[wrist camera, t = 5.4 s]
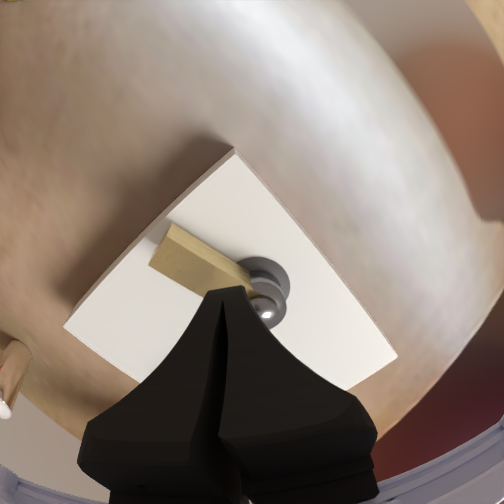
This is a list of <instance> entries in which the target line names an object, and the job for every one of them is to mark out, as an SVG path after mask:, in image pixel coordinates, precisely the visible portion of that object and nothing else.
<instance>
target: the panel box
mask: <svg viewBox="0 0 504 504" xmlns="http://www.w3.org/2000/svg"><path fill="white" fill-rule="evenodd" d="M172 223H174V224H175V225H177V226H178V227H180V228H181V229H183V230H185V231H186V232H188V233H189V234H191V235H192V236H194V237H196V238H197V239H199V240H200V241H202V242H204V243H205V244H207V245H208V246H210V247H211V248H213V249H215V250H216V251H218V252H219V253H221V254H223V255H224V256H226V257H227V258H229V259H231V260H232V261H234V262H235V263H237V264H239V265H240V266H242V267H243V268H245V269H247V270H248V271H254V270H261V271H266V272H269V273H271V274H272V275H274V276H275V277H276V278H277V279H278V280H279V282H280V284H281V287H282V291H283V294H284V297H285V301H286V305H287V311H286V315H285V317H284V318H283V320H282V321H281V322H280V323H279V324H278V325H277V326H275V327H274V328H272V329H270V331H271V333H272V334H273V335H274V336H275V337H276V338H277V339H278V340H279V342H280V343H281V344H282V345H283V346H284V347H285V348H286V349H287V350H289V351H290V352H291V353H292V354H293V355H294V356H295V357H296V358H297V359H299V360H300V361H301V362H302V363H304V364H305V365H306V366H308V367H309V368H310V369H312V370H313V371H314V372H315V373H317V374H318V375H320V376H321V377H323V378H324V379H326V380H328V381H329V382H331V383H332V384H334V385H336V386H337V387H339V388H341V389H343V390H345V391H346V390H348V389H349V388H351V387H353V386H354V385H356V384H358V383H359V382H361V381H362V380H364V379H366V378H367V377H369V376H370V375H372V374H373V373H375V372H377V371H378V370H380V369H381V368H383V367H384V366H386V365H387V364H389V363H390V362H391V361H393V360H394V359H396V358H397V357H398V356H397V354H396V352H395V350H394V349H393V347H392V345H391V344H390V342H389V340H388V339H387V337H386V335H385V334H384V333H383V331H382V330H381V328H380V327H379V326H378V324H377V323H376V321H375V320H374V319H373V317H372V316H371V315H370V313H369V312H368V311H367V309H366V308H365V306H364V305H363V304H362V302H361V301H360V300H359V298H358V297H357V296H356V294H355V293H354V292H353V290H352V289H351V288H350V286H349V285H348V284H347V283H346V281H345V280H344V279H343V277H342V276H341V275H340V273H339V272H338V271H337V270H336V268H335V267H334V266H333V264H332V263H331V262H330V261H329V259H328V258H327V257H326V255H325V254H324V253H323V252H322V250H321V249H320V248H319V247H318V245H317V244H316V243H315V242H314V240H313V239H312V238H311V237H310V235H309V234H308V233H307V232H306V231H305V229H304V228H303V227H302V226H301V224H300V223H299V222H298V221H297V220H296V218H295V217H294V216H293V215H292V214H291V212H290V211H289V210H288V209H287V208H286V206H285V205H284V204H283V203H282V202H281V200H280V199H279V198H278V197H277V196H276V194H275V193H274V192H273V191H272V190H271V189H270V187H269V186H268V185H267V184H266V183H265V182H264V180H263V179H262V178H261V177H260V176H259V175H258V174H257V172H256V171H255V170H254V169H253V168H252V167H251V166H250V164H249V163H248V162H247V161H246V160H245V159H244V158H243V156H242V155H241V154H240V153H239V152H238V151H237V150H236V149H235V148H232V149H231V150H230V151H229V152H228V153H227V154H225V155H224V156H223V157H222V158H221V159H220V160H218V161H217V162H216V163H215V164H214V165H213V166H212V167H210V168H209V169H208V170H207V171H206V172H205V173H204V174H203V175H201V176H200V177H199V178H198V179H197V180H196V181H195V182H194V183H193V184H191V185H190V186H189V187H188V188H187V189H186V190H185V191H184V192H183V193H182V194H181V195H180V196H179V197H177V198H176V199H175V200H174V201H173V202H172V203H171V204H170V205H169V206H168V207H167V208H166V209H165V210H164V211H163V212H162V213H161V214H160V215H159V216H158V217H157V218H156V219H155V220H154V221H153V222H152V223H151V224H150V225H149V226H148V227H147V228H146V229H145V230H144V231H143V232H142V233H141V234H140V235H139V236H138V237H137V238H136V239H135V240H134V241H133V242H132V243H131V244H130V245H129V246H128V247H127V248H126V249H125V250H124V251H123V252H122V253H121V254H120V256H119V257H118V258H117V259H116V260H115V261H114V262H113V263H112V264H111V265H110V266H109V267H108V269H107V270H106V271H105V272H104V273H103V274H102V275H101V276H100V277H99V279H98V280H97V281H96V282H95V283H94V284H93V285H92V286H91V288H90V289H89V290H88V291H87V292H86V293H85V294H84V296H83V297H82V298H81V299H80V300H79V301H78V303H77V304H76V305H75V307H74V309H73V310H72V312H71V314H70V315H69V317H68V319H67V320H66V322H65V324H64V325H63V327H64V328H65V329H67V330H68V331H69V332H70V333H71V334H73V335H74V336H75V337H76V338H78V339H79V340H80V341H81V342H83V343H84V344H85V345H87V346H88V347H89V348H91V349H92V350H93V351H95V352H96V353H97V354H99V355H100V356H101V357H103V358H104V359H105V360H107V361H108V362H110V363H111V364H113V365H114V366H115V367H117V368H118V369H120V370H121V371H123V372H124V373H126V374H127V375H129V376H130V377H132V378H133V379H135V380H136V381H138V382H140V383H141V382H142V381H143V380H145V379H146V378H147V377H148V376H149V375H150V374H151V373H152V372H153V371H154V370H155V369H156V368H157V367H158V365H159V364H160V363H161V362H162V361H163V360H164V358H165V357H166V356H167V355H168V354H169V352H170V351H171V350H172V348H173V347H174V346H175V344H176V343H177V341H178V340H179V338H180V337H181V336H182V334H183V333H184V331H185V330H186V328H187V326H188V325H189V323H190V321H191V320H192V318H193V316H194V315H195V313H196V311H197V309H198V308H199V306H200V304H201V302H202V300H203V297H201V296H199V295H197V294H196V293H194V292H192V291H190V290H189V289H187V288H185V287H183V286H182V285H180V284H178V283H176V282H175V281H173V280H171V279H170V278H168V277H166V276H165V275H163V274H161V273H160V272H158V271H156V270H155V269H153V268H151V267H150V266H148V263H149V261H150V259H151V257H152V254H153V252H154V250H155V248H156V247H157V245H158V244H159V242H160V241H161V239H162V237H163V236H164V234H165V233H166V231H167V230H168V228H169V227H170V225H171V224H172Z"/></svg>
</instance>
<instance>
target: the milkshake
mask: <svg viewBox="0 0 504 504" xmlns="http://www.w3.org/2000/svg"><path fill="white" fill-rule="evenodd" d="M31 361H32V353H31V352H30V350H29V349H28V348H27V346H25V345H24V344H23V343H21V342H20V341H17V340H12V341H11V342H10V343H9V344H8V345H7V347H6V348H5V349H4V351H3V352H2V353H1V355H0V418H2V419H8V418H10V416H11V414H12V411H13V407H14V404H15V401H16V398H17V395H18V392H19V390H20V387H21V385H22V382H23V380H24V377H25V375H26V373H27V370H28V368H29V366H30V363H31Z"/></svg>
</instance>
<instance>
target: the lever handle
mask: <svg viewBox="0 0 504 504" xmlns="http://www.w3.org/2000/svg"><path fill="white" fill-rule="evenodd" d="M148 266H150V267H151V268H153V269H155V270H156V271H158V272H160V273H161V274H163V275H165V276H166V277H168V278H170V279H171V280H173V281H175V282H176V283H178V284H180V285H182V286H183V287H185V288H187V289H189V290H190V291H192V292H194V293H196V294H197V295H199V296H201V297H203V298H204V296H205V294H206V293H207V291H208V290H214V289H220V288H226V287H232V286H238V285H243V286H244V287H245V289H246V293H247V296H248V298H249V300H250V302H251V304H252V306H253V307H254V309H255V311H256V312H257V314H258V315H259V317H260V318H261V320H262V321H263V322H264V324H265V325H266V326H267V328H268V329H269V330H270V329H272V328H274V327H275V326H277V325H278V324H279V323H280V322H281V321H282V320H283V318H284V317H285V315H286V311H287V305H286V301H285V297H284V294H283V291H282V287H281V284H280V282H279V280H278V279H277V278H276V277H275V276H274V275H272V274H271V273H269V272H266V271H261V270H254V271H248V270H247V269H245V268H243V267H242V266H240V265H239V264H237V263H235V262H234V261H232V260H231V259H229V258H227V257H226V256H224V255H223V254H221V253H219V252H218V251H216V250H215V249H213V248H211V247H210V246H208V245H207V244H205V243H204V242H202V241H200V240H199V239H197V238H196V237H194V236H192V235H191V234H189V233H188V232H186V231H185V230H183V229H181V228H180V227H178V226H177V225H175V224H174V223H172V224H171V225H170V227H169V228H168V230H167V231H166V233H165V234H164V236H163V237H162V239H161V241H160V242H159V244H158V245H157V247H156V248H155V250H154V252H153V254H152V257H151V259H150V261H149V263H148Z"/></svg>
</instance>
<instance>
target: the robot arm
mask: <svg viewBox="0 0 504 504" xmlns="http://www.w3.org/2000/svg"><path fill="white" fill-rule="evenodd" d="M377 434H378V432H377V430H376V427H375V425H374V423H373V421H372V419H371V417H370V416H369V414H368V412H367V411H366V409H365V408H364V407H363V405H362V404H361V402H360V401H359V400H358V399H357V397H356V396H354V395H352V394H350V393H348V392H347V391H345V390H343V389H341V388H339V387H337V386H336V385H334V384H332V383H331V382H329V381H328V380H326V379H324V378H323V377H321V376H320V375H318V374H317V373H315V372H314V371H313V370H312V369H310V368H309V367H308V366H306V365H305V364H304V363H302V362H301V361H300V360H299V359H297V358H296V357H295V356H294V355H293V354H292V353H291V352H290V351H289V350H287V349H286V348H285V347H284V346H283V345H282V344H281V343H280V342H279V340H278V339H277V338H276V337H275V336H274V335H273V334H272V333H271V331H270V330H269V329H268V328H267V326H266V325H265V324H264V322H263V321H262V320H261V318H260V317H259V315H258V314H257V312H256V311H255V309H254V307H253V306H252V304H251V302H250V300H249V298H248V296H247V293H246V289H245V287H244V286H243V285H238V286H232V287H226V288H220V289H214V290H208V291H207V293H206V294H205V296H204V298H203V300H202V302H201V304H200V306H199V308H198V309H197V311H196V313H195V315H194V316H193V318H192V320H191V321H190V323H189V325H188V326H187V328H186V330H185V331H184V333H183V334H182V336H181V337H180V338H179V340H178V341H177V343H176V344H175V346H174V347H173V348H172V350H171V351H170V352H169V354H168V355H167V356H166V357H165V358H164V360H163V361H162V362H161V363H160V364H159V365H158V367H157V368H156V369H155V370H154V371H153V372H152V373H151V374H150V375H149V376H148V377H147V378H146V379H145V380H143V381H142V382H141V383H140V384H139V385H138V386H137V387H136V388H135V389H134V390H132V391H131V392H130V393H129V394H128V395H126V396H125V397H124V398H123V399H121V400H120V401H119V402H117V403H116V404H115V405H113V406H112V407H110V408H109V409H107V410H106V411H104V412H103V413H101V414H100V415H98V416H97V417H95V418H94V419H92V420H90V421H89V422H88V423H87V426H86V429H85V432H84V435H83V439H82V443H81V447H80V451H79V455H78V459H77V464H78V465H79V467H80V468H81V470H82V471H83V472H84V473H86V474H87V475H88V476H89V477H91V478H92V479H94V480H95V481H97V482H98V483H100V484H101V485H103V486H104V487H106V488H107V489H109V490H110V498H109V503H104V502H100V501H95V500H90V499H85V498H82V497H78V496H74V495H70V494H66V493H63V492H60V491H56V490H53V489H50V488H47V487H44V486H41V485H38V484H35V483H33V482H30V481H27V480H25V479H22V478H20V477H18V476H17V475H16V474H15V473H13V472H12V471H11V470H9V469H8V468H6V467H4V466H3V465H1V464H0V504H250V502H249V500H250V501H251V502H252V504H499V503H500V502H502V501H503V500H504V416H503V417H502V418H501V420H500V422H498V423H497V424H495V425H494V426H492V427H491V428H489V429H488V430H486V431H485V432H483V433H481V434H480V435H478V436H476V437H475V438H473V439H471V440H470V441H468V442H466V443H464V444H463V445H461V446H459V447H457V448H455V449H454V450H452V451H450V452H448V453H446V454H444V455H442V456H440V457H438V458H436V459H434V460H432V461H430V462H428V463H426V464H423V465H421V466H419V467H417V468H414V469H412V470H410V471H407V472H405V473H402V474H400V475H397V476H395V477H392V478H389V479H387V480H384V481H381V482H378V483H377V482H376V479H375V476H374V473H373V470H372V469H373V468H374V464H373V461H372V458H371V455H370V453H371V451H372V449H373V447H374V444H375V442H376V440H377Z"/></svg>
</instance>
